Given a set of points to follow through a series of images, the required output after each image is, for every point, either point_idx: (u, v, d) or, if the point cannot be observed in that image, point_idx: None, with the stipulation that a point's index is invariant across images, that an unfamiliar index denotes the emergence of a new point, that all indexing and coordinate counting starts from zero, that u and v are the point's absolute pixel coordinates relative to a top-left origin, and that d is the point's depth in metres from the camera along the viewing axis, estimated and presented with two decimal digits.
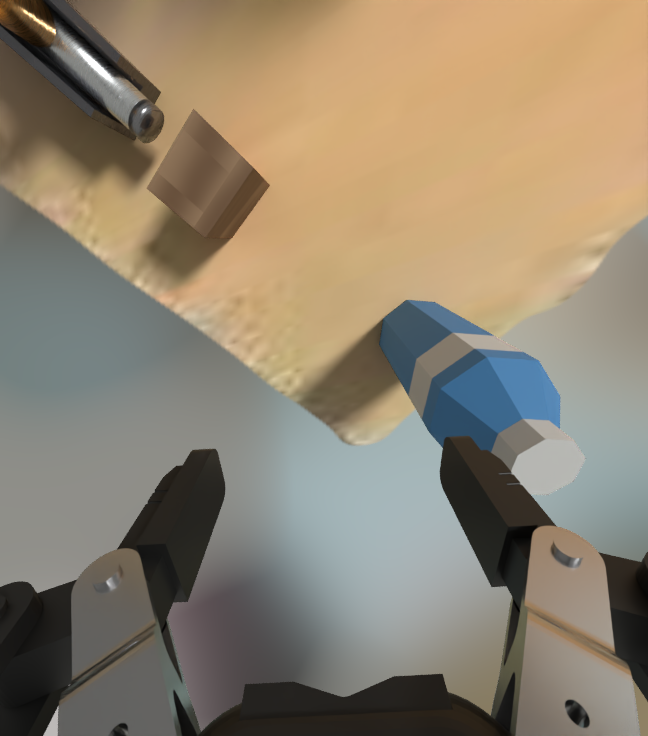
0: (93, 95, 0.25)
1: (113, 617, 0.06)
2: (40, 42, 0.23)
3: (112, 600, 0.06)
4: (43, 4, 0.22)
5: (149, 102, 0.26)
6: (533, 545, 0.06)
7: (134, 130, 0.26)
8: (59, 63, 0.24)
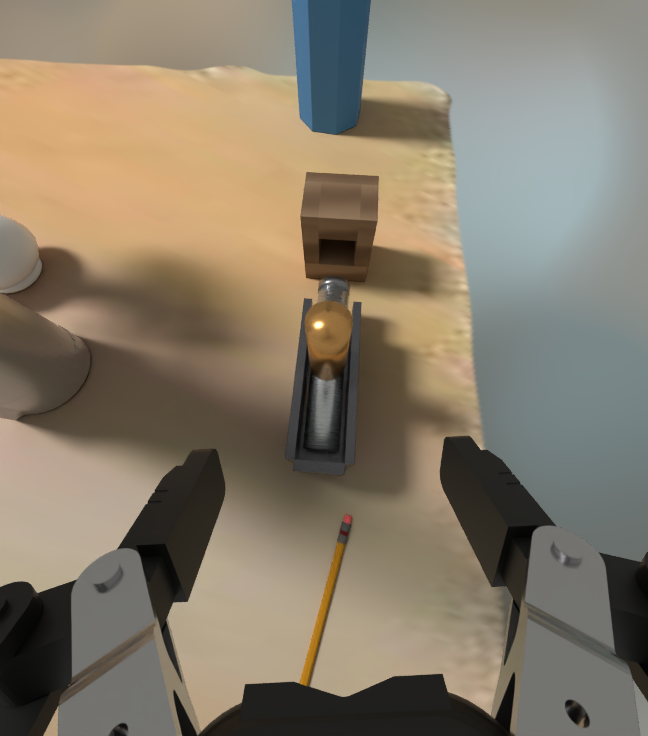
0: None
1: (113, 617, 0.06)
2: None
3: (112, 601, 0.06)
4: None
5: (319, 286, 0.29)
6: (533, 545, 0.06)
7: (345, 284, 0.29)
8: None
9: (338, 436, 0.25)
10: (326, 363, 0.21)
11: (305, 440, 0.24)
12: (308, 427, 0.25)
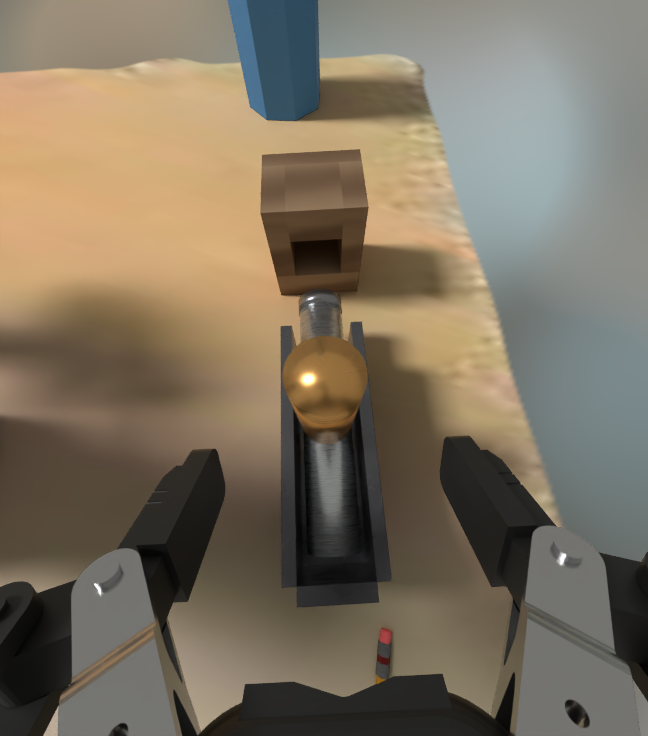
0: None
1: (113, 617, 0.06)
2: None
3: (112, 601, 0.06)
4: None
5: (300, 306, 0.21)
6: (533, 545, 0.06)
7: (335, 299, 0.21)
8: None
9: (358, 528, 0.16)
10: (328, 432, 0.13)
11: (309, 543, 0.16)
12: (311, 521, 0.16)
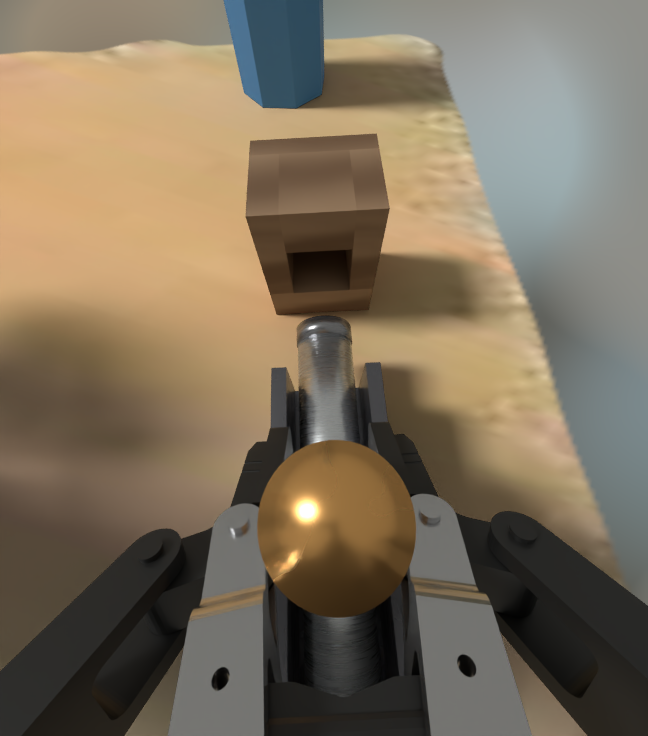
0: (353, 396, 0.15)
1: (258, 555, 0.06)
2: None
3: (238, 548, 0.07)
4: None
5: (298, 336, 0.17)
6: None
7: (344, 328, 0.16)
8: None
9: (378, 668, 0.11)
10: None
11: None
12: (311, 659, 0.11)
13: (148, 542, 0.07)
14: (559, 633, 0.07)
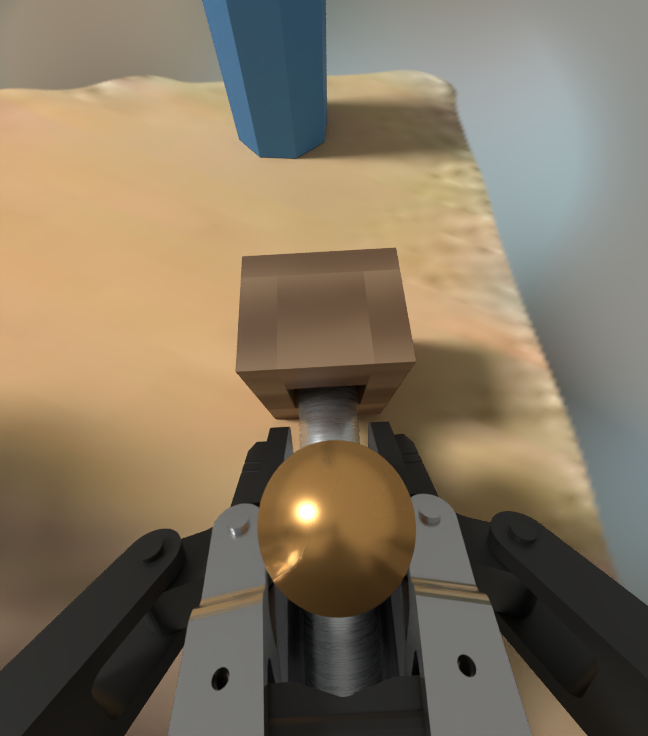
0: (352, 395, 0.15)
1: (258, 555, 0.06)
2: None
3: (237, 548, 0.07)
4: None
5: None
6: None
7: None
8: None
9: (378, 667, 0.11)
10: None
11: None
12: (311, 659, 0.11)
13: (148, 542, 0.07)
14: (559, 633, 0.07)
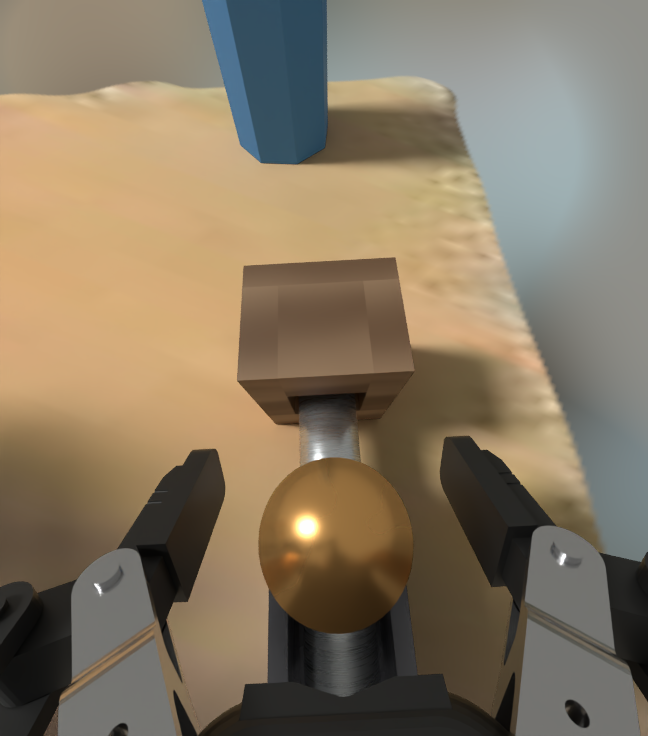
0: (352, 403, 0.15)
1: (113, 617, 0.06)
2: None
3: (112, 600, 0.06)
4: None
5: None
6: (533, 545, 0.06)
7: None
8: (355, 461, 0.14)
9: (377, 675, 0.12)
10: None
11: None
12: (311, 666, 0.11)
13: None
14: None
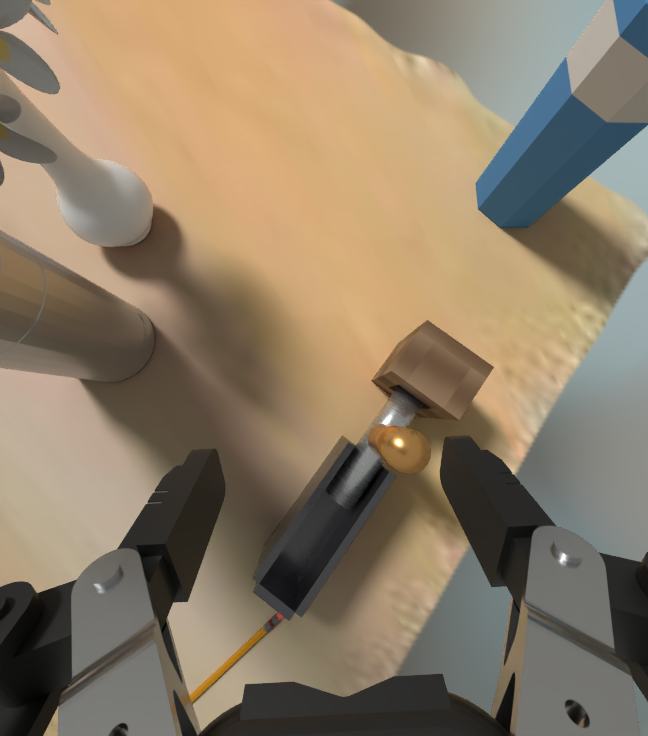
0: (420, 406, 0.29)
1: (113, 617, 0.06)
2: None
3: (112, 601, 0.06)
4: (376, 426, 0.28)
5: None
6: (533, 545, 0.06)
7: None
8: None
9: (357, 500, 0.28)
10: None
11: (331, 488, 0.28)
12: (339, 480, 0.28)
13: None
14: None
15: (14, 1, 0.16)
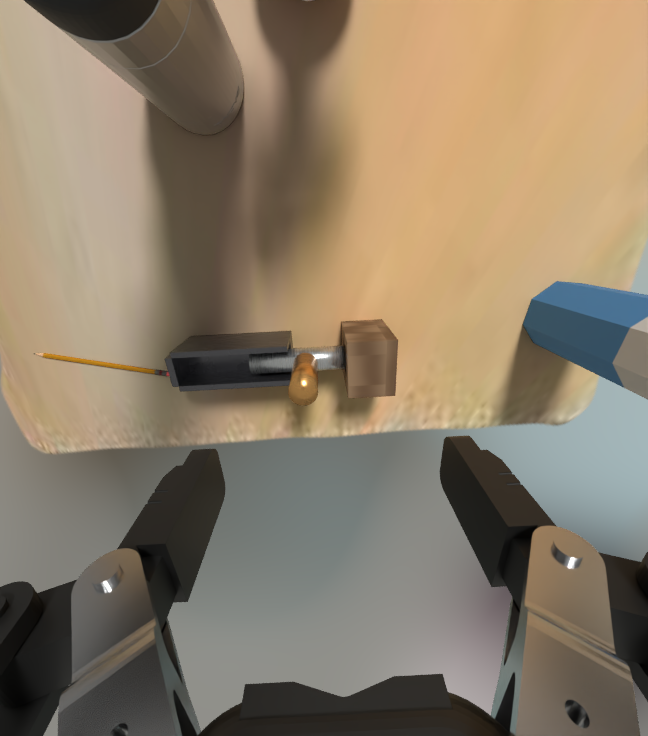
0: (343, 368, 0.39)
1: (113, 617, 0.06)
2: None
3: (112, 600, 0.06)
4: (309, 354, 0.36)
5: None
6: (533, 545, 0.06)
7: None
8: (321, 369, 0.39)
9: (261, 373, 0.39)
10: None
11: (253, 354, 0.38)
12: (261, 356, 0.38)
13: None
14: None
15: None
